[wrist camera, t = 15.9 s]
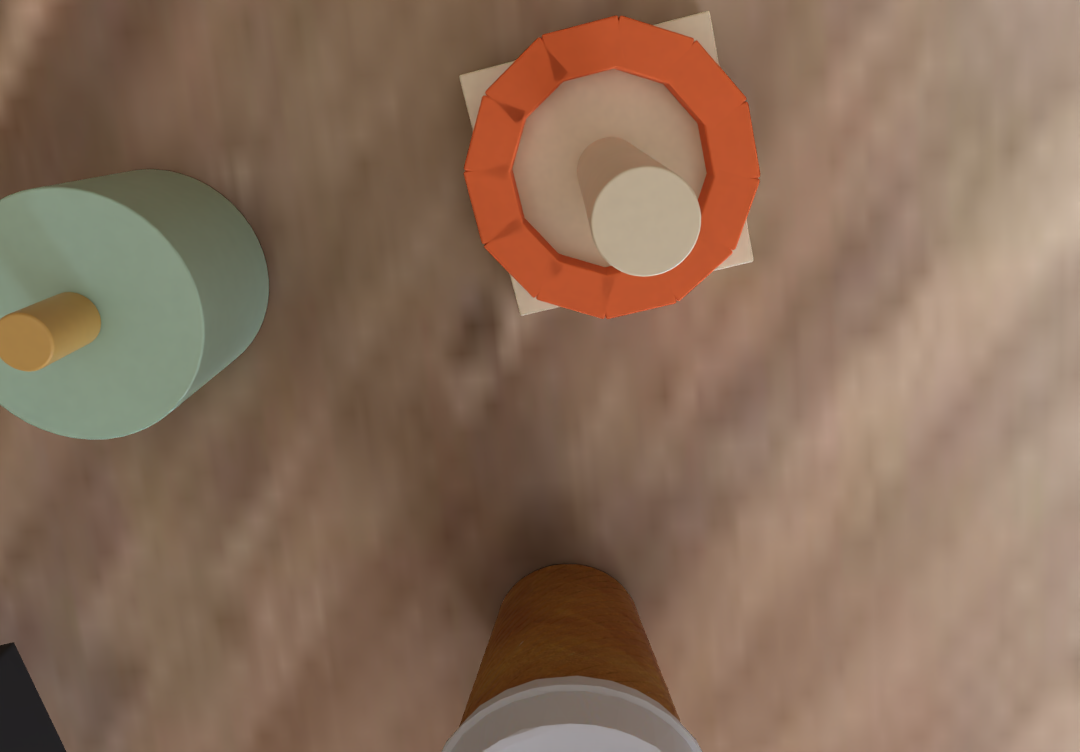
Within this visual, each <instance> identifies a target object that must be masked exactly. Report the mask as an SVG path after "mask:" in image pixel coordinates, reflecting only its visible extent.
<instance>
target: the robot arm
mask: <svg viewBox="0 0 1080 752" xmlns="http://www.w3.org/2000/svg"><path fill="white" fill-rule="evenodd" d="M0 752H66V750H65V748H64V746H63V744H62V742H61V740H60V738H59V736H58V733H57V731H56V729H55V727H54V725H53V723H52V721H51V719H50V717H49V715H48V713H47V711H46V708H45V706H44V704H43V702H42V700H41V698H40V696H39V694H38V692H37V690H36V688H35V686H34V683H33V681H32V679H31V677H30V675H29V673H28V671H27V669H26V667H25V665H24V663H23V661H22V659H21V656H20V654H19V652H18V650H17V648H16V646H15V644H14V642H13V643H9V644H4V645H0Z"/></svg>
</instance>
